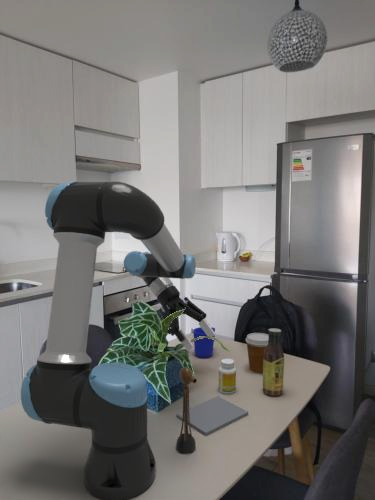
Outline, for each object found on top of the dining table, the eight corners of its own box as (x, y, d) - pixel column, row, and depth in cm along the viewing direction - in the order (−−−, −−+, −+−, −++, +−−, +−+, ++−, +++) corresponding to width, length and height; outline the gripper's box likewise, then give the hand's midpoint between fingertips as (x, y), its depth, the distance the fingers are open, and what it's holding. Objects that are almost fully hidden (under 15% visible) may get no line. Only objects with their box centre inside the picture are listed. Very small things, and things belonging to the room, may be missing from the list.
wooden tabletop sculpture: (202, 451, 93) (202, 370, 91) (186, 458, 91) (186, 374, 88) (188, 439, 98) (188, 361, 96) (172, 445, 95) (172, 366, 93)
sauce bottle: (277, 399, 119) (279, 334, 116) (258, 393, 122) (260, 330, 120) (286, 391, 124) (288, 329, 122) (268, 385, 127) (269, 325, 125)
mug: (222, 351, 158) (222, 326, 157) (207, 361, 148) (208, 335, 147) (204, 347, 162) (204, 323, 161) (189, 356, 152) (189, 331, 151)
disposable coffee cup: (239, 366, 142) (240, 334, 141) (261, 362, 146) (262, 331, 145) (255, 377, 134) (255, 342, 132) (277, 372, 138) (278, 338, 136)
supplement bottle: (215, 389, 125) (215, 360, 124) (227, 384, 128) (227, 356, 127) (227, 396, 120) (227, 365, 119) (239, 390, 124) (239, 361, 123)
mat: (205, 435, 99) (205, 432, 99) (176, 416, 109) (176, 413, 109) (248, 414, 110) (248, 411, 110) (217, 398, 119) (217, 396, 119)
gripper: (179, 291, 147) (214, 338, 140) (135, 305, 126) (173, 360, 120) (191, 278, 144) (227, 326, 137) (147, 291, 123) (187, 347, 116)
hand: (202, 342), depth 128 cm, fingers open, 13 cm apart
